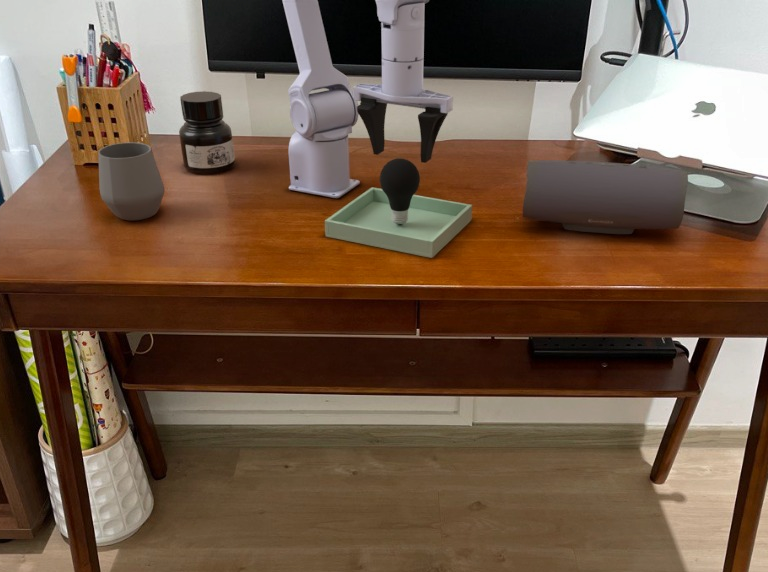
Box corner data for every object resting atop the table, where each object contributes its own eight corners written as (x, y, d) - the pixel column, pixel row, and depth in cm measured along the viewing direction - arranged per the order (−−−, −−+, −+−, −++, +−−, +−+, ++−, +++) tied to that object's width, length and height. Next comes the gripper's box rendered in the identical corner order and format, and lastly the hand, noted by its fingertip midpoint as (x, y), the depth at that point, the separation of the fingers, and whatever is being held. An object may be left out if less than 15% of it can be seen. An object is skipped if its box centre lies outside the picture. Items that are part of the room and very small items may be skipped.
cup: (129, 199, 133) (117, 137, 127) (179, 207, 131) (169, 144, 125) (92, 221, 126) (77, 156, 120) (144, 230, 123) (132, 163, 118)
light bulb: (380, 217, 127) (379, 152, 121) (418, 217, 127) (419, 152, 121) (379, 232, 122) (378, 166, 116) (419, 233, 122) (420, 166, 116)
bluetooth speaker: (672, 222, 128) (685, 158, 122) (677, 247, 120) (691, 180, 114) (524, 211, 131) (530, 148, 125) (520, 234, 123) (526, 168, 117)
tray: (325, 236, 122) (324, 220, 121) (372, 202, 133) (371, 187, 132) (432, 258, 116) (432, 241, 115) (471, 220, 128) (472, 204, 126)
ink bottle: (190, 178, 141) (179, 106, 134) (175, 163, 148) (164, 93, 141) (244, 169, 145) (237, 99, 138) (228, 155, 152) (220, 87, 145)
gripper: (463, 57, 113) (458, 155, 121) (368, 46, 118) (370, 141, 126) (442, 68, 108) (439, 170, 116) (344, 56, 113) (348, 155, 120)
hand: (402, 156), depth 120 cm, fingers open, 7 cm apart
